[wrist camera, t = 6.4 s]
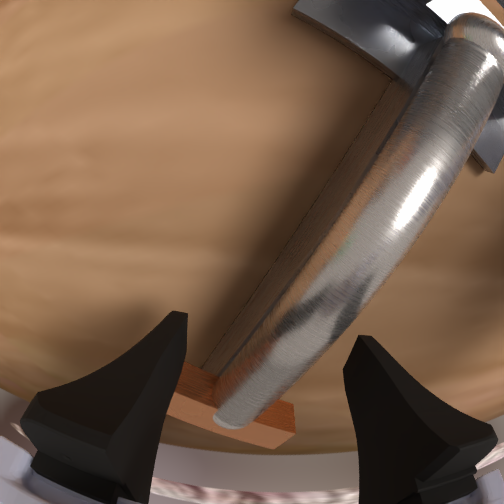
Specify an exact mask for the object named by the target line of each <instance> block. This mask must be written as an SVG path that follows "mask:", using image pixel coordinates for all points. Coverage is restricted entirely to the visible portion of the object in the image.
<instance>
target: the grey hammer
mask: <svg viewBox="0 0 504 504" xmlns="http://www.w3.org/2000/svg"><path fill="white" fill-rule="evenodd" d="M497 2H498V3H499V4H500V5H501V6H502V7H503V8H504V0H497ZM465 12H475V13H480V14H483V15H485V16H488V17H489V18H491V19H493V20H494V21H496V22H497V23H498V24H499V25H500V26H501V27H502V28H503V29H504V27H503V26H502V25H501V24H500V22H499V21H498V20H497V19H496V18H495V17H494V16H493V15H492V14H491V12H490V11H489V10H488V9H487V8H486V7H485V6H484V5H483V4H482V3H481V2H480V1H479V0H299V1H298V2H297V4H296V5H295V6H294V8H293V11H292V14H291V15H293V16H295V17H297V18H299V19H301V20H303V21H305V22H307V23H308V24H310V25H312V26H314V27H316V28H317V29H319V30H321V31H323V32H324V33H326V34H328V35H329V36H331V37H333V38H334V39H336V40H337V41H339V42H341V43H342V44H344V45H345V46H347V47H348V48H350V49H351V50H353V51H354V52H356V53H357V54H359V55H360V56H362V57H363V58H365V59H366V60H367V61H369V62H370V63H372V64H373V65H374V66H376V67H377V68H378V69H380V70H381V71H382V72H384V73H385V74H386V75H388V76H389V77H390V78H391V79H392V81H391V83H390V84H389V86H388V88H387V89H386V91H385V92H384V94H383V96H382V97H381V99H380V101H379V102H378V104H377V105H376V107H375V109H374V110H373V112H372V114H371V115H370V117H369V118H368V120H367V122H366V123H365V125H364V126H363V128H362V130H361V131H360V133H359V134H358V136H357V137H356V139H355V141H354V142H353V144H352V145H351V147H350V149H349V150H348V152H347V153H346V155H345V156H344V158H343V160H342V161H341V163H340V164H339V166H338V167H337V169H336V170H335V172H334V174H333V175H332V177H331V178H330V180H329V181H328V183H327V184H326V186H325V187H324V189H323V191H322V192H321V194H320V195H319V197H318V198H317V200H316V201H315V203H314V204H313V206H312V207H311V209H310V210H309V212H308V213H307V215H306V216H305V218H304V219H303V221H302V223H301V224H300V226H299V227H298V229H297V230H296V232H295V233H294V235H293V236H292V238H291V239H290V241H289V242H288V244H287V245H286V247H285V248H284V249H283V251H282V252H281V254H280V255H279V257H278V258H277V260H276V261H275V263H274V264H273V266H272V267H271V269H270V270H269V272H268V273H267V275H266V276H265V278H264V279H263V281H262V282H261V283H260V285H259V286H258V288H257V289H256V291H255V292H254V294H253V295H252V297H251V298H250V299H249V301H248V302H247V304H246V305H245V307H244V308H243V310H242V311H241V312H240V314H239V315H238V317H237V318H236V320H235V321H234V323H233V324H232V325H231V327H230V328H229V330H228V331H227V333H226V334H225V335H224V337H223V338H222V340H221V341H220V342H219V344H218V345H217V347H216V348H215V350H214V351H213V352H212V354H211V355H210V357H209V358H208V359H207V361H206V362H205V364H204V365H203V366H202V368H201V369H202V370H204V371H206V372H209V373H211V374H214V375H216V376H218V377H220V376H221V375H222V374H223V373H224V371H225V370H226V369H227V368H228V366H229V365H230V364H231V363H232V361H233V360H234V359H235V357H236V356H237V355H238V354H239V352H240V351H241V350H242V349H243V347H244V346H245V345H246V343H247V342H248V341H249V340H250V338H251V337H252V336H253V334H254V333H255V332H256V331H257V329H258V328H259V327H260V325H261V324H262V323H263V321H264V320H265V319H266V317H267V316H268V315H269V313H270V312H271V311H272V309H273V308H274V307H275V305H276V304H277V303H278V301H279V300H280V299H281V297H282V296H283V295H284V293H285V292H286V291H287V289H288V288H289V286H290V285H291V284H292V282H293V281H294V280H295V278H296V277H297V275H298V274H299V273H300V271H301V270H302V268H303V267H304V266H305V264H306V263H307V261H308V260H309V259H310V257H311V256H312V254H313V253H314V252H315V250H316V249H317V247H318V246H319V244H320V243H321V242H322V240H323V239H324V237H325V236H326V234H327V233H328V231H329V230H330V229H331V227H332V226H333V224H334V223H335V221H336V220H337V218H338V217H339V215H340V214H341V212H342V211H343V209H344V208H345V206H346V205H347V203H348V202H349V200H350V199H351V197H352V196H353V194H354V193H355V191H356V190H357V188H358V187H359V185H360V184H361V182H362V181H363V179H364V178H365V176H366V175H367V173H368V171H369V170H370V168H371V167H372V165H373V164H374V162H375V161H376V159H377V157H378V156H379V154H380V153H381V151H382V149H383V148H384V146H385V145H386V143H387V141H388V140H389V138H390V137H391V135H392V133H393V132H394V130H395V128H396V127H397V125H398V123H399V122H400V120H401V118H402V117H403V115H404V113H405V112H406V110H407V108H408V107H409V105H410V103H411V102H412V100H413V98H414V96H415V95H416V93H417V91H418V90H419V88H420V86H421V84H422V83H423V81H424V79H425V77H426V75H427V74H428V72H429V70H430V68H431V67H432V65H433V63H434V61H435V59H436V57H437V56H438V54H439V52H440V50H441V48H442V46H443V45H444V32H445V28H446V26H447V24H448V23H449V21H450V20H451V19H452V18H453V17H455V16H456V15H458V14H461V13H465ZM471 155H472V156H473V157H474V158H475V159H476V160H477V162H478V163H479V164H480V165H481V166H482V168H483V169H484V170H485V171H488V172H491V173H495V171H496V169H497V167H498V165H499V163H500V161H501V159H502V157H503V155H504V84H503V86H502V89H501V91H500V94H499V96H498V98H497V100H496V103H495V105H494V107H493V109H492V112H491V114H490V116H489V118H488V120H487V122H486V124H485V126H484V128H483V130H482V132H481V134H480V136H479V138H478V140H477V142H476V144H475V146H474V148H473V150H472V152H471Z"/></svg>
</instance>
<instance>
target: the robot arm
mask: <svg viewBox="0 0 504 504" xmlns="http://www.w3.org/2000/svg"><path fill="white" fill-rule="evenodd" d="M187 322H188V313H184V312H178V311H172V312H170V313H169V314H168V315H167V316H166V317H165V318H164V319H163V320H162V321H161V322H160V323H159V324H158V325H157V326H156V327H155V328H154V329H153V330H152V331H151V332H150V333H149V334H148V335H146V336H145V337H144V338H143V339H142V340H141V341H140V342H138V343H137V344H136V345H135V346H133V347H132V348H131V349H130V350H128V351H127V352H126V353H124V354H123V355H121V356H120V357H119V358H117V359H116V360H114V361H112V362H111V363H109V364H108V365H106V366H104V367H102V368H101V369H99V370H97V371H95V372H93V373H91V374H89V375H87V376H85V377H83V378H80V379H78V380H76V381H73V382H70V383H68V384H65V385H62V386H59V387H55V388H52V389H48V390H45V391H41V392H38V393H37V394H36V396H35V397H34V398H33V400H32V401H31V403H30V405H29V406H28V408H27V410H26V411H25V413H24V415H23V416H22V418H21V420H20V424H21V427H22V429H23V431H24V433H25V434H26V435H27V437H28V438H29V439H30V441H31V442H32V443H33V444H34V446H35V447H36V448H37V450H38V451H37V453H36V455H35V457H33V456H32V455H31V454H30V453H29V452H28V451H26V450H25V449H23V448H22V447H20V446H18V445H17V444H15V443H13V442H12V441H10V440H8V439H6V438H5V437H4V436H0V503H1V504H148V502H149V495H150V488H151V482H152V475H153V470H154V464H155V459H156V454H157V449H158V445H159V440H160V436H161V431H162V427H163V423H164V419H165V416H166V413H167V410H168V408H169V405H170V402H171V399H172V397H173V394H174V391H175V389H176V386H177V383H178V380H179V378H180V375H181V372H182V368H183V364H184V360H185V355H186V350H187ZM343 376H344V385H345V391H346V396H347V400H348V404H349V408H350V412H351V416H352V420H353V424H354V428H355V432H356V438H357V446H358V456H359V476H360V477H359V504H504V481H503V478H502V476H501V473H500V471H499V469H495V470H493V471H491V472H489V473H487V474H485V475H482V476H481V477H479V478H477V479H476V480H475V478H474V476H473V474H475V473H476V472H477V469H476V467H475V465H476V464H477V463H478V462H480V461H481V460H482V459H483V458H484V457H485V456H486V455H487V454H489V453H490V452H491V451H492V449H493V448H494V447H495V446H496V444H497V442H498V438H497V436H496V433H495V431H494V430H493V427H492V426H491V425H490V424H487V423H485V422H482V421H480V420H477V419H475V418H472V417H470V416H468V415H466V414H464V413H462V412H460V411H459V410H457V409H455V408H453V407H452V406H450V405H448V404H447V403H445V402H444V401H442V400H441V399H439V398H438V397H436V396H435V395H434V394H432V393H431V392H430V391H428V390H427V389H426V388H425V387H423V386H422V385H421V384H420V383H419V382H418V381H417V380H415V379H414V378H413V377H412V376H411V375H410V374H409V373H408V372H407V371H406V370H405V369H404V368H403V367H402V366H401V365H400V364H399V363H398V362H397V361H396V360H395V359H394V358H393V357H392V356H391V355H390V354H389V353H388V352H387V351H386V350H385V349H384V348H383V347H382V346H381V345H380V344H379V343H378V342H377V341H376V340H375V339H374V338H373V337H372V336H365V335H358V338H357V340H356V342H355V344H354V347H353V349H352V351H351V353H350V355H349V357H348V360H347V362H346V364H345V366H344V368H343Z"/></svg>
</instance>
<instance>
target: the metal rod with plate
mask: <svg viewBox="0 0 504 504" xmlns="http://www.w3.org/2000/svg"><path fill="white" fill-rule="evenodd" d="M503 84H504V29H503V28H502V27H501V26H500V25H499V24H498V23H497V22H496V21H494V20H493V19H491V18H489V17H488V16H485V15H483V14H480V13H475V12H465V13H461V14H458V15H456V16H455V17H453V18H452V19H451V20H450V21H449V23H448V24H447V26H446V28H445V32H444V45H443V46H442V48H441V50H440V52H439V54H438V56H437V57H436V59H435V61H434V63H433V65H432V67H431V68H430V70H429V72H428V74H427V75H426V77H425V79H424V81H423V83H422V84H421V86H420V88H419V90H418V91H417V93H416V95H415V96H414V98H413V100H412V102H411V103H410V105H409V107H408V108H407V110H406V112H405V113H404V115H403V117H402V118H401V120H400V122H399V123H398V125H397V127H396V128H395V130H394V132H393V133H392V135H391V137H390V138H389V140H388V141H387V143H386V145H385V146H384V148H383V149H382V151H381V153H380V154H379V156H378V157H377V159H376V161H375V162H374V164H373V165H372V167H371V168H370V170H369V171H368V173H367V175H366V176H365V178H364V179H363V181H362V182H361V184H360V185H359V187H358V188H357V190H356V191H355V193H354V194H353V196H352V197H351V199H350V200H349V202H348V203H347V205H346V206H345V208H344V209H343V211H342V212H341V214H340V215H339V217H338V218H337V220H336V221H335V223H334V224H333V226H332V227H331V229H330V230H329V231H328V233H327V234H326V236H325V237H324V239H323V240H322V242H321V243H320V244H319V246H318V247H317V249H316V250H315V252H314V253H313V254H312V256H311V257H310V259H309V260H308V261H307V263H306V264H305V266H304V267H303V268H302V270H301V271H300V273H299V274H298V275H297V277H296V278H295V280H294V281H293V282H292V284H291V285H290V286H289V288H288V289H287V291H286V292H285V293H284V295H283V296H282V297H281V299H280V300H279V301H278V303H277V304H276V305H275V307H274V308H273V309H272V311H271V312H270V313H269V315H268V316H267V317H266V319H265V320H264V321H263V323H262V324H261V325H260V327H259V328H258V329H257V331H256V332H255V333H254V334H253V336H252V337H251V338H250V340H249V341H248V342H247V343H246V345H245V346H244V347H243V349H242V350H241V351H240V352H239V354H238V355H237V356H236V357H235V359H234V360H233V361H232V363H231V364H230V365H229V366H228V368H227V369H226V370H225V371H224V373H223V374H222V375H221V376H220V377H218V376H216V375H214V374H211V373H209V372H206V371H204V370H202V369H200V368H197V367H195V366H193V365H191V364H188V363H186V362H184V364H183V368H182V372H181V375H180V378H179V380H178V383H177V386H176V389H175V391H174V394H173V397H172V399H171V402H170V405H169V408H168V410H167V413H166V414H168V415H170V416H172V417H175V418H177V419H180V420H182V421H185V422H188V423H190V424H193V425H196V426H198V427H201V428H204V429H207V430H209V431H212V432H215V433H218V434H221V435H224V436H227V437H231V438H234V439H237V440H240V441H244V442H247V443H251V444H254V445H258V446H262V447H266V448H270V449H275V448H277V447H278V446H280V445H281V444H282V443H284V442H285V441H287V440H288V439H289V438H291V437H292V436H293V435H295V434H296V430H295V418H294V406H293V404H291V403H288V402H285V401H282V400H279V398H280V397H281V396H282V395H283V394H284V393H285V392H287V391H288V390H289V389H290V388H291V387H292V386H293V385H294V384H295V383H296V382H297V381H298V380H299V379H300V378H301V377H302V376H303V375H304V374H305V373H306V372H307V371H308V370H309V369H310V368H311V367H312V366H313V365H314V364H315V363H316V362H317V361H318V360H319V359H320V357H321V356H322V355H323V354H324V353H325V352H326V351H327V350H328V349H329V348H330V347H331V346H332V345H333V344H334V342H335V341H336V340H337V339H338V338H339V337H340V336H341V335H342V334H343V333H344V331H345V330H346V329H347V328H348V327H349V326H350V325H351V323H352V322H353V321H354V320H355V319H356V318H357V317H358V315H359V314H360V313H361V312H362V311H363V309H364V308H365V307H366V306H367V305H368V303H369V302H370V301H371V300H372V299H373V297H374V296H375V295H376V294H377V292H378V291H379V290H380V289H381V287H382V286H383V285H384V284H385V282H386V281H387V280H388V278H389V277H390V276H391V275H392V273H393V272H394V271H395V269H396V268H397V267H398V265H399V264H400V263H401V261H402V260H403V259H404V257H405V256H406V255H407V253H408V252H409V250H410V249H411V248H412V246H413V245H414V243H415V242H416V241H417V239H418V238H419V236H420V235H421V233H422V232H423V230H424V229H425V228H426V226H427V225H428V223H429V222H430V220H431V219H432V217H433V216H434V214H435V212H436V211H437V209H438V208H439V206H440V205H441V203H442V202H443V200H444V198H445V197H446V195H447V193H448V192H449V190H450V189H451V187H452V185H453V184H454V182H455V180H456V178H457V177H458V175H459V173H460V172H461V170H462V168H463V166H464V165H465V163H466V161H467V159H468V157H469V155H470V154H471V152H472V150H473V148H474V146H475V144H476V142H477V140H478V138H479V136H480V134H481V132H482V130H483V128H484V126H485V124H486V122H487V120H488V118H489V116H490V114H491V112H492V109H493V107H494V105H495V103H496V100H497V98H498V96H499V94H500V91H501V89H502V86H503Z"/></svg>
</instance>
